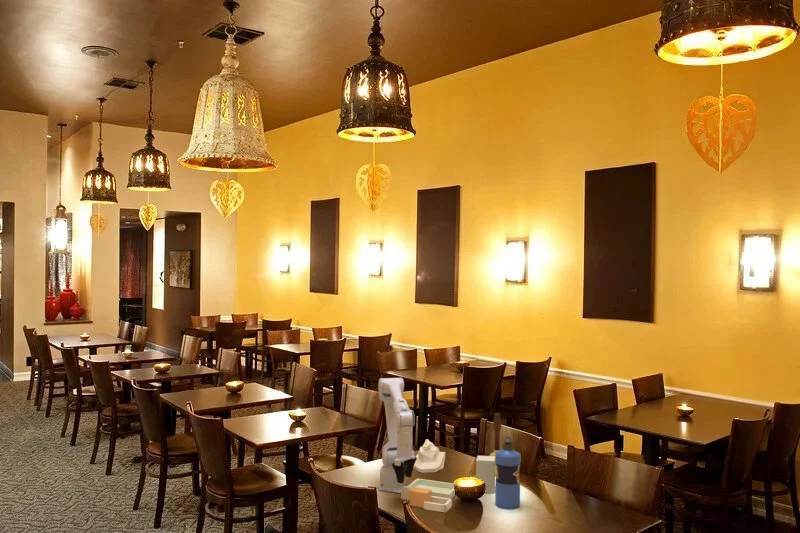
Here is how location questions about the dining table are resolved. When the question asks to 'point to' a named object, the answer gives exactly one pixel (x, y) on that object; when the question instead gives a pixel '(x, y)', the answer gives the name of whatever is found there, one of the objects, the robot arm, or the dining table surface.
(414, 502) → the orange and grey block
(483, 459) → the supplement box
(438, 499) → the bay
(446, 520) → the dining table surface
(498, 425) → the handbell
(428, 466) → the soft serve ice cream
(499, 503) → the water bottle
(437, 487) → the tray
